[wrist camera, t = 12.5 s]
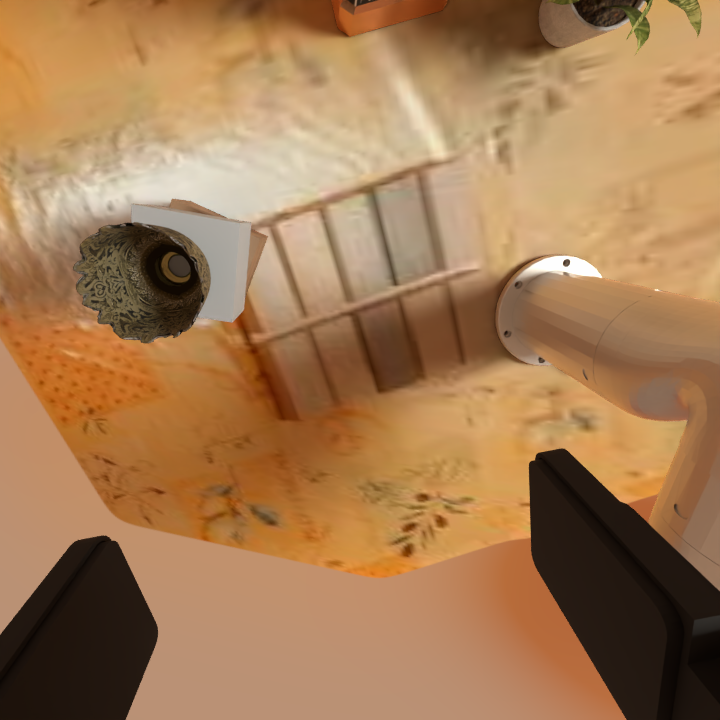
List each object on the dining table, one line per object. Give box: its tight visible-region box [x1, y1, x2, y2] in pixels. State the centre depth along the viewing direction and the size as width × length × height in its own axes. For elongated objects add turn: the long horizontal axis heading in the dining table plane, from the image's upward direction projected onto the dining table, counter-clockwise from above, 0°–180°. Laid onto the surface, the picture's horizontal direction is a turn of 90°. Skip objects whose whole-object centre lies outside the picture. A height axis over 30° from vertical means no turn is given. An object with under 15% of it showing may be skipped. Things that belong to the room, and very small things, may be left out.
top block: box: [131, 204, 251, 322], centre depth 34 cm, size 8×8×5 cm
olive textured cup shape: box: [73, 222, 211, 343], centre depth 28 cm, size 8×7×8 cm
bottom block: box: [169, 199, 268, 296], centre depth 39 cm, size 8×8×5 cm
